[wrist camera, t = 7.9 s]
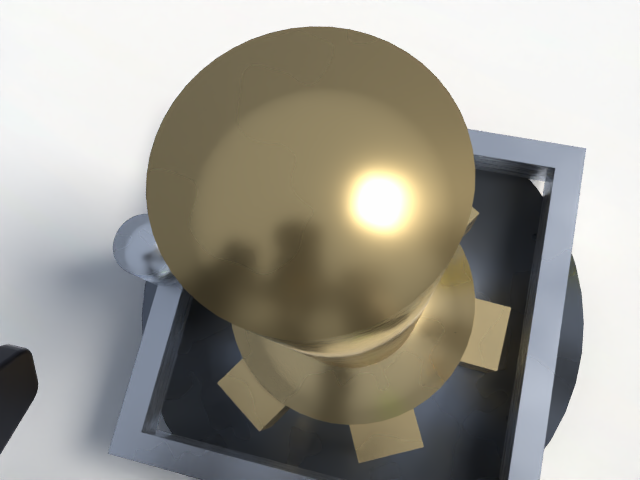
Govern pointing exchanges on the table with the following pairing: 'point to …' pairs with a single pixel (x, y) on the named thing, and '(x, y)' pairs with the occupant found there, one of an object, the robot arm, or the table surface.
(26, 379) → the robot arm
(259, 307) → the planet gear
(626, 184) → the table surface
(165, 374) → the carrier plate
